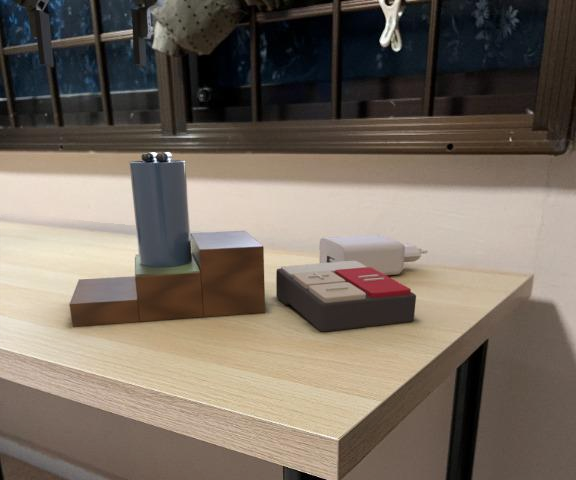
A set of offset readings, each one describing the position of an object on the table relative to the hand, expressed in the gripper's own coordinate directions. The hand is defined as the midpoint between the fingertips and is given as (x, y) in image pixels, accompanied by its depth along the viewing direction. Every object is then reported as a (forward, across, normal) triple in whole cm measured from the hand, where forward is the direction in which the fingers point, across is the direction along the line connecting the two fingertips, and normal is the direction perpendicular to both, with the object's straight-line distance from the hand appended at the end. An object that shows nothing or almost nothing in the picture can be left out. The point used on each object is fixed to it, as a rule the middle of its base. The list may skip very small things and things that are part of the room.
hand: (93, 65), depth 85 cm
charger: (+27, +41, 0) cm, 49 cm away
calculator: (+28, +36, -21) cm, 51 cm away
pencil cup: (+24, +16, -22) cm, 36 cm away
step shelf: (+29, +16, -22) cm, 39 cm away
